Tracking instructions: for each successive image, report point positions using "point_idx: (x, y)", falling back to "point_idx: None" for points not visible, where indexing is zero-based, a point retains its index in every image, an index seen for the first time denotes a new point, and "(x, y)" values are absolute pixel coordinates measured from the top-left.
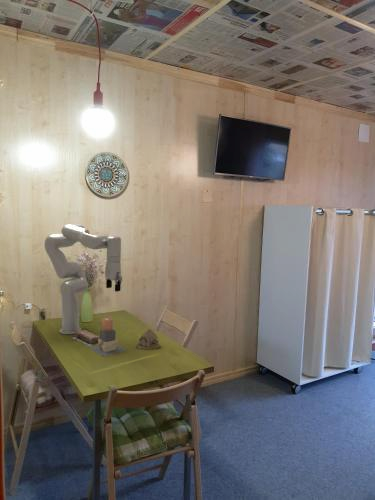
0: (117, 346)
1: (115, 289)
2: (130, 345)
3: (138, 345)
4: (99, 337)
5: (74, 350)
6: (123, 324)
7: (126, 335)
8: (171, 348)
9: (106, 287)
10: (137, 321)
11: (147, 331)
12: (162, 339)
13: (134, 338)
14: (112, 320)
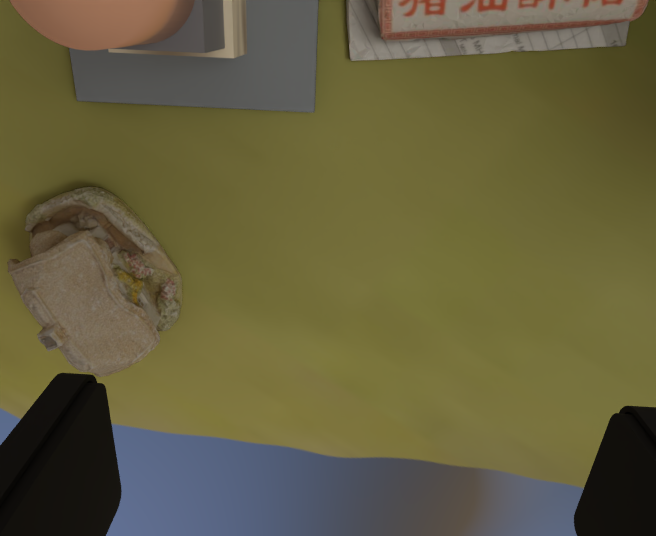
0: (190, 88)
1: (31, 416)
2: (195, 197)
3: (70, 201)
4: (380, 26)
5: None
6: (591, 389)
7: (388, 285)
8: (14, 359)
9: (647, 412)
10: (565, 478)
11: (37, 318)
12: (179, 406)
13: (300, 293)
14: (24, 13)
